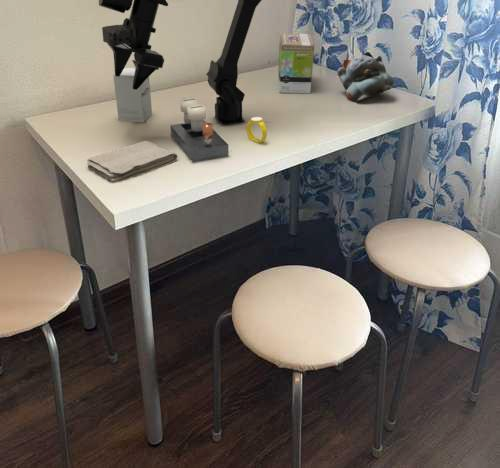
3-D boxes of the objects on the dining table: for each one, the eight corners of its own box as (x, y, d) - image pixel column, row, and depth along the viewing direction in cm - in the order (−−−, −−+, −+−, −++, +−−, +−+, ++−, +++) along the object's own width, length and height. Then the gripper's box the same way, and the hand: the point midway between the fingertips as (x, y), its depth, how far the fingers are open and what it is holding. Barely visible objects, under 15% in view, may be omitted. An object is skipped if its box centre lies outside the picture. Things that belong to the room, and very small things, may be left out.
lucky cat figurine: (347, 104, 169) (335, 57, 167) (344, 107, 181) (333, 63, 179) (398, 89, 167) (386, 41, 165) (392, 93, 179) (381, 48, 177)
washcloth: (84, 169, 132) (82, 157, 131) (148, 147, 143) (147, 135, 141) (113, 186, 125) (112, 173, 124) (178, 162, 136) (177, 149, 134)
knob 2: (203, 124, 143) (202, 102, 140) (209, 131, 140) (208, 108, 137) (186, 127, 142) (184, 105, 139) (191, 133, 138) (190, 110, 135)
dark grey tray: (204, 131, 151) (204, 120, 149) (228, 156, 138) (228, 144, 136) (171, 136, 148) (170, 125, 146) (192, 162, 135) (191, 150, 133)
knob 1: (195, 117, 148) (194, 95, 145) (201, 123, 144) (200, 101, 141) (179, 119, 146) (177, 98, 143) (184, 125, 143) (183, 103, 140)
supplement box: (143, 123, 156) (139, 76, 149) (117, 120, 157) (112, 74, 150) (153, 113, 162) (149, 68, 155) (128, 111, 163) (123, 66, 156)
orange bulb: (211, 142, 137) (210, 122, 134) (214, 146, 135) (214, 125, 133) (201, 144, 136) (200, 123, 134) (205, 147, 134) (204, 127, 132)
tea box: (311, 93, 177) (314, 44, 169) (278, 93, 177) (280, 44, 169) (308, 79, 190) (311, 32, 182) (277, 78, 190) (279, 32, 182)
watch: (245, 140, 147) (243, 117, 144) (252, 137, 148) (251, 114, 146) (261, 145, 143) (260, 122, 140) (269, 142, 145) (268, 119, 142)
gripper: (93, 0, 137) (79, 64, 143) (131, 23, 125) (114, 91, 132) (134, 11, 145) (119, 71, 151) (173, 33, 133) (155, 98, 139)
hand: (125, 82), depth 143 cm, fingers open, 9 cm apart
